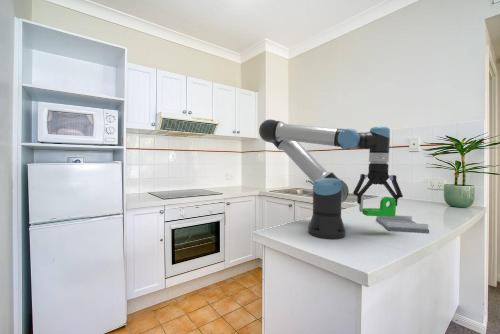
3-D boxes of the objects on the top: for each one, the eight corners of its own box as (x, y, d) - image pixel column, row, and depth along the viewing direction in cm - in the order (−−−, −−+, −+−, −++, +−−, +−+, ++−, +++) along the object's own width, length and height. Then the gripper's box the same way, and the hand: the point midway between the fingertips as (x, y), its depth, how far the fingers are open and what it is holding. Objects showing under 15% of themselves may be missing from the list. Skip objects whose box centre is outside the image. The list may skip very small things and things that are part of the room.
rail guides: (388, 227, 107) (388, 222, 106) (376, 218, 123) (376, 214, 123) (428, 229, 103) (428, 224, 103) (410, 219, 119) (410, 216, 119)
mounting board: (388, 230, 106) (388, 227, 106) (375, 220, 123) (375, 217, 123) (429, 233, 103) (429, 229, 103) (409, 222, 120) (409, 219, 120)
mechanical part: (386, 213, 105) (387, 195, 104) (395, 216, 99) (396, 197, 98) (360, 212, 104) (360, 194, 104) (367, 215, 98) (368, 196, 98)
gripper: (350, 162, 101) (348, 212, 102) (413, 163, 96) (411, 216, 97) (347, 162, 108) (345, 208, 109) (405, 163, 104) (403, 212, 104)
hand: (376, 212), depth 103 cm, fingers closed on mechanical part, 12 cm apart
